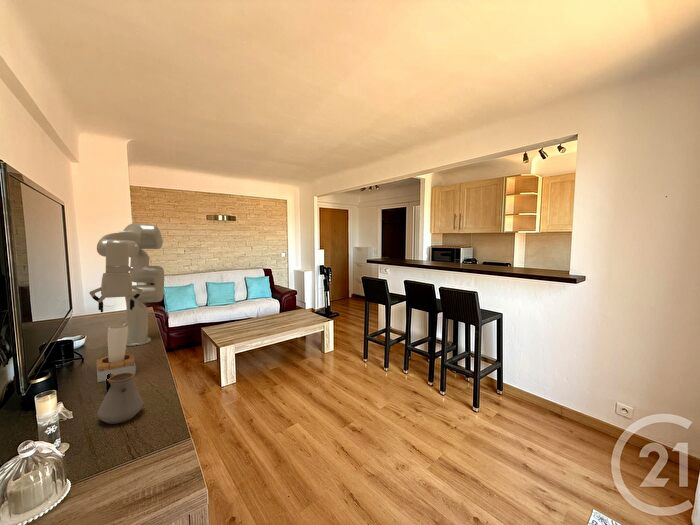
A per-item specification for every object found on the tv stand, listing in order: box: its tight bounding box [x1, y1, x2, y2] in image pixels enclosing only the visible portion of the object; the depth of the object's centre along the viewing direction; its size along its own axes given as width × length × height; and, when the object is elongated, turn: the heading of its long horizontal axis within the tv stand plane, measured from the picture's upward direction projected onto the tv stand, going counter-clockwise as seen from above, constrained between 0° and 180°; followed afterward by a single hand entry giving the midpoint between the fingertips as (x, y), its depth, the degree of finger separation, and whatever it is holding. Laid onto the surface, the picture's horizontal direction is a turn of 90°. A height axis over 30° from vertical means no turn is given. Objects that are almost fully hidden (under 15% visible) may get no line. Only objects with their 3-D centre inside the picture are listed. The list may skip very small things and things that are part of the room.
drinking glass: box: [106, 324, 128, 363], centre depth 122 cm, size 7×7×15 cm
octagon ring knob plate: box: [96, 353, 137, 383], centre depth 123 cm, size 16×12×6 cm
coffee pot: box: [96, 373, 144, 425], centre depth 88 cm, size 21×12×15 cm, turn 40°
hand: (116, 310), depth 122 cm, fingers open, 9 cm apart
